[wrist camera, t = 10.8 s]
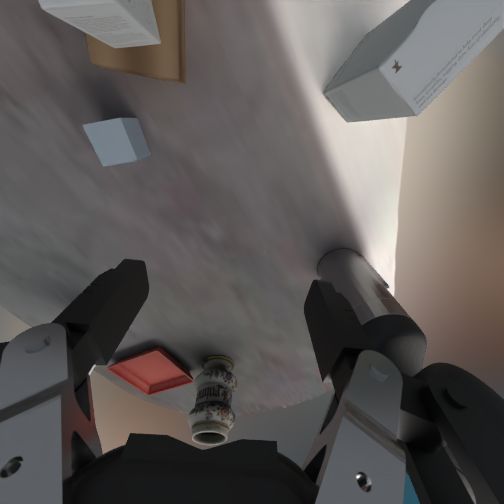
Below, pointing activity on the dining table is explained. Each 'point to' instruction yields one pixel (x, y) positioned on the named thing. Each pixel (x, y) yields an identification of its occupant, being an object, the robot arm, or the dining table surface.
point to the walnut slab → (149, 47)
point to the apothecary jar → (213, 402)
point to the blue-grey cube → (117, 140)
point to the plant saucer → (152, 371)
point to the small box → (109, 20)
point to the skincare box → (413, 57)
